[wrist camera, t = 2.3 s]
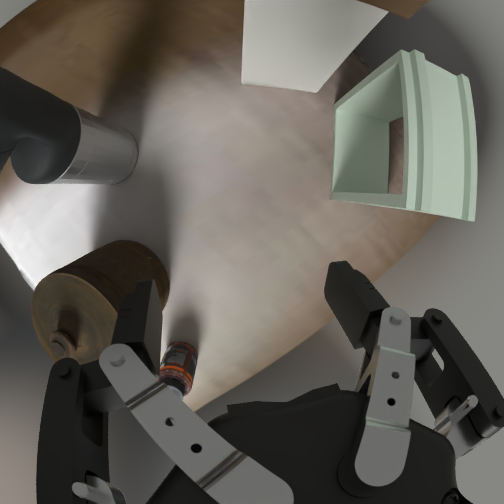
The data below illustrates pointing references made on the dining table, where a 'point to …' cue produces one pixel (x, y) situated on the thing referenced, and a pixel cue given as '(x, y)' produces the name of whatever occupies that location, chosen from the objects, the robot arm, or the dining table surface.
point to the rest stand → (408, 139)
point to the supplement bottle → (178, 368)
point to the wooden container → (91, 299)
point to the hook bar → (398, 6)
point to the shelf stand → (301, 40)
